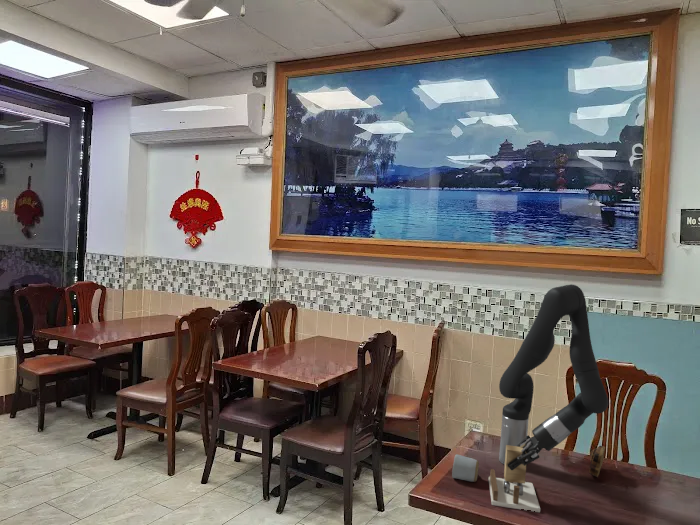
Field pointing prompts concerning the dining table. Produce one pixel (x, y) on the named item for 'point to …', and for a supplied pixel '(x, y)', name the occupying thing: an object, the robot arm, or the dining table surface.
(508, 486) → the pegs
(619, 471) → the dining table surface
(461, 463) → the ceramic mug
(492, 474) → the walnut frame
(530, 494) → the peg stand
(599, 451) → the wooden carving
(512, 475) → the oak block
